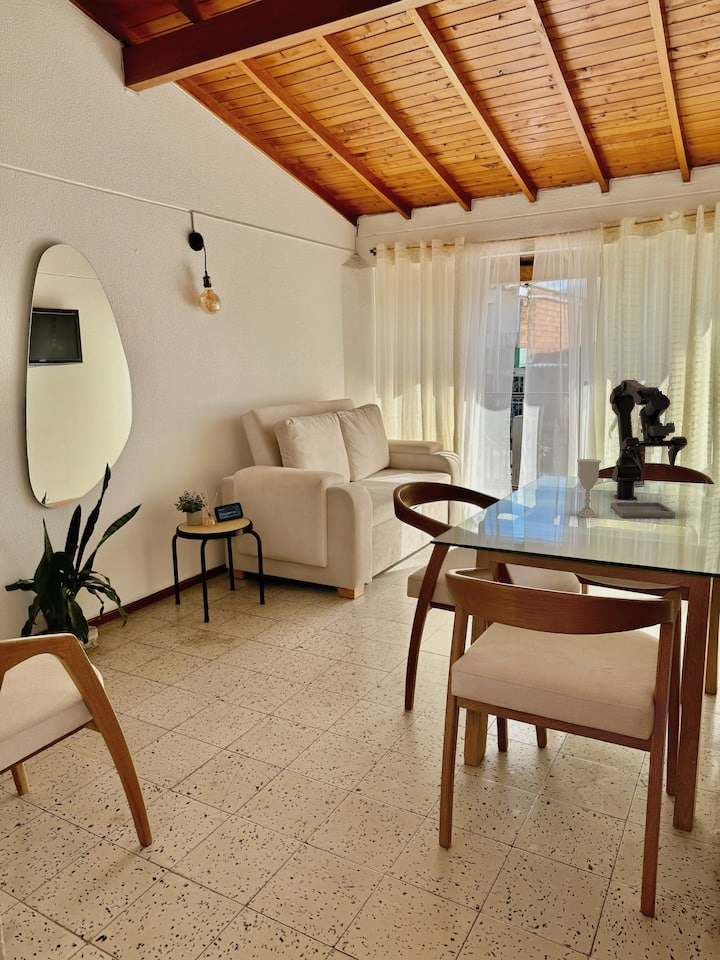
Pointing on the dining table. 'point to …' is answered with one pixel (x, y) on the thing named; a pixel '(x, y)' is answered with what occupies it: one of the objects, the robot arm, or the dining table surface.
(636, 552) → the dining table surface
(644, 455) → the supplement box
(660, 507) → the tray
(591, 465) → the chalice
